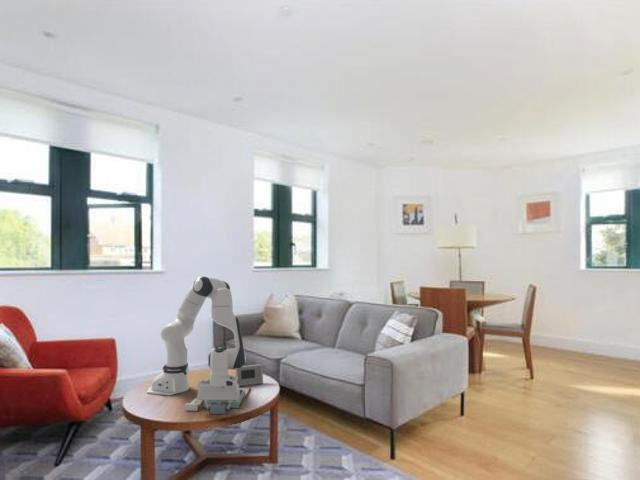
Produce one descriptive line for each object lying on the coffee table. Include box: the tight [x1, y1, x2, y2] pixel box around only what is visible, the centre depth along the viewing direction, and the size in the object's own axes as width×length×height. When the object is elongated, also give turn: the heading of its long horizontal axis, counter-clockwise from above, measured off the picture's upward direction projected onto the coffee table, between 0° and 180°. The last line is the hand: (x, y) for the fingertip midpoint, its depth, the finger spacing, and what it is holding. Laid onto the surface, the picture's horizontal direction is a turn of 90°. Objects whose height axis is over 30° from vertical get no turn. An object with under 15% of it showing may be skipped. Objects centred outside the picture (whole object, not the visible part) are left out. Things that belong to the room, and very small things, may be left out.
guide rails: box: [199, 387, 252, 410], centre depth 201 cm, size 20×28×1 cm
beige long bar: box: [184, 397, 205, 412], centre depth 198 cm, size 6×26×3 cm, turn 0°
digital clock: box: [235, 363, 264, 387], centre depth 224 cm, size 16×9×11 cm, turn 101°
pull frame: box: [203, 388, 246, 415], centre depth 193 cm, size 18×25×4 cm
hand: (218, 408), depth 183 cm, fingers open, 8 cm apart
